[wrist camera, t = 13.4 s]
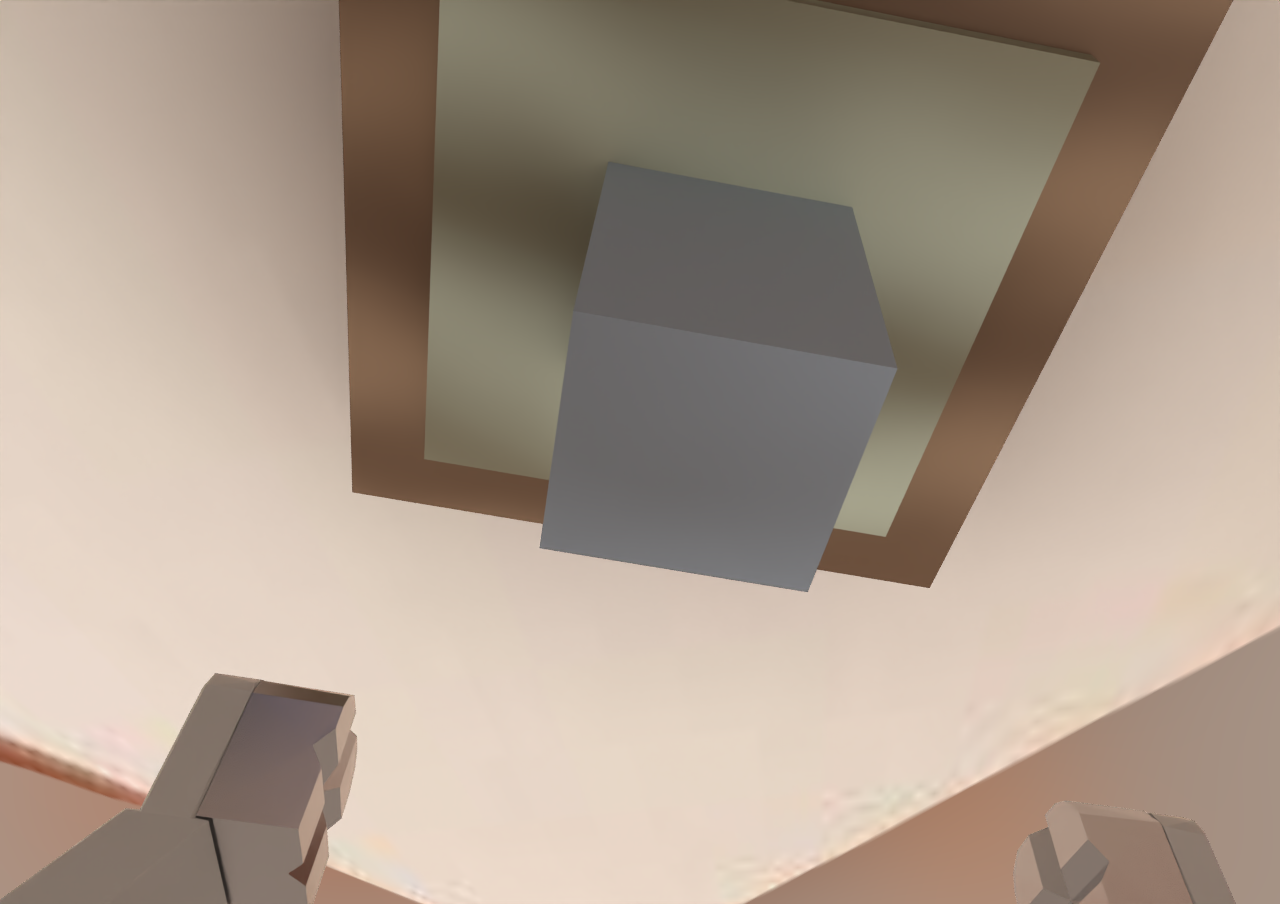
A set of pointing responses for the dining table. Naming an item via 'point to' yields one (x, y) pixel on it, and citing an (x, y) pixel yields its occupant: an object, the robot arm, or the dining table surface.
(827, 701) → the dining table surface
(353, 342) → the walnut stand
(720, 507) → the slate block
